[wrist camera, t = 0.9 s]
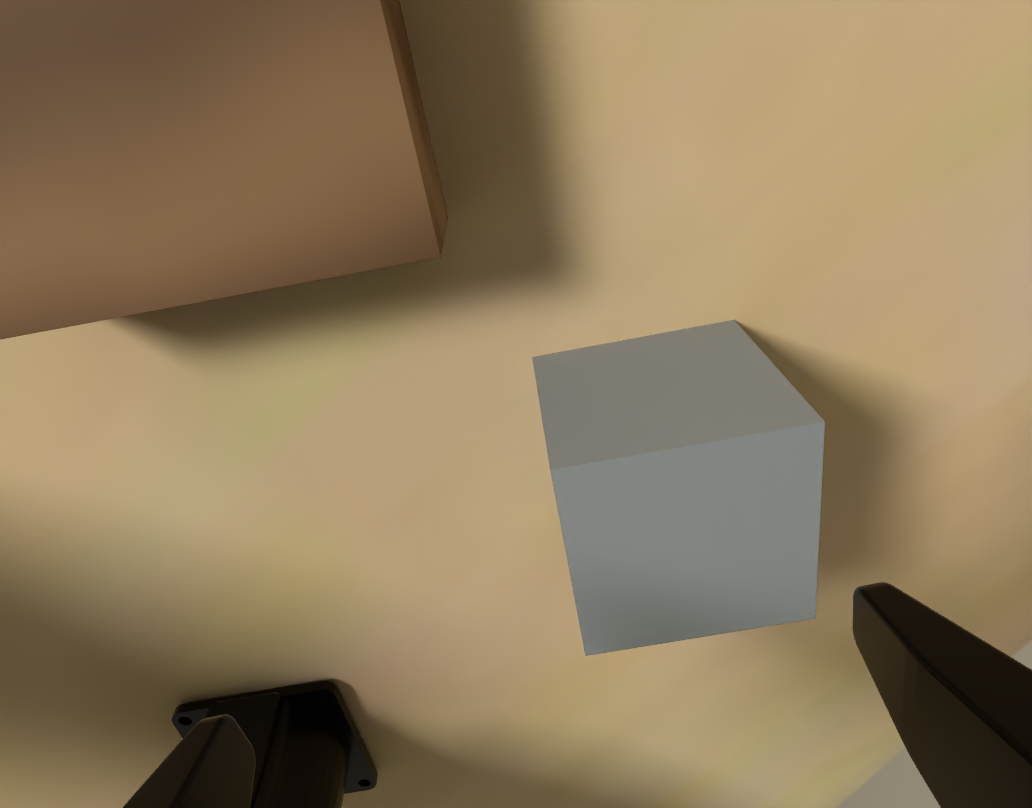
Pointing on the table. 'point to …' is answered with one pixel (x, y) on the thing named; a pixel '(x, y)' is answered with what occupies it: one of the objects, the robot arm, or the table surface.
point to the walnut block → (204, 152)
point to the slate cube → (682, 486)
